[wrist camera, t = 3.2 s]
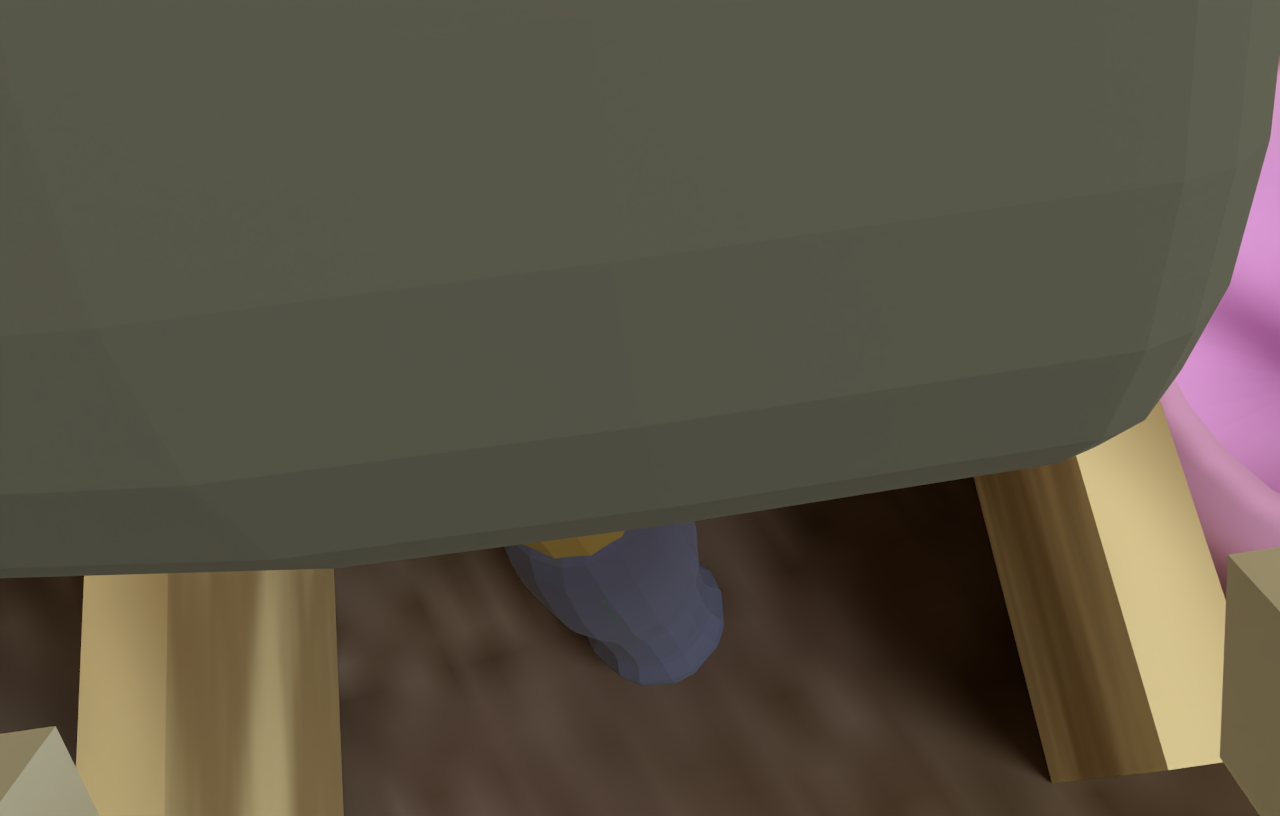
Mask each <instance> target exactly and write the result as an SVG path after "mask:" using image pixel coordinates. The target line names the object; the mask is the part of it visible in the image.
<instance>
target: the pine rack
mask: <svg viewBox="0 0 1280 816" xmlns="http://www.w3.org/2000/svg"><path fill="white" fill-rule="evenodd" d="M973 478H974V482H975V486H976V490H977V493H978V497H979V501H980V505H981V509H982V513H983V517H984V521H985V525H986V528H987V532H988V536H989V540H990V544H991V548H992V552H993V556H994V560H995V563H996V567H997V571H998V575H999V579H1000V583H1001V587H1002V591H1003V595H1004V598H1005V602H1006V606H1007V610H1008V614H1009V618H1010V622H1011V626H1012V630H1013V634H1014V637H1015V641H1016V645H1017V649H1018V653H1019V657H1020V661H1021V665H1022V669H1023V672H1024V676H1025V680H1026V684H1027V688H1028V692H1029V696H1030V700H1031V704H1032V707H1033V711H1034V715H1035V719H1036V723H1037V727H1038V731H1039V735H1040V739H1041V743H1042V746H1043V750H1044V754H1045V758H1046V762H1047V766H1048V770H1049V774H1050V778H1051V781H1052V783H1059V782H1068V781H1077V780H1086V779H1095V778H1103V777H1112V776H1121V775H1130V774H1139V773H1148V772H1157V771H1165V770H1173V769H1180V768H1187V767H1193V766H1200V765H1207V764H1214V763H1221V762H1223V761H1222V759H1221V758H1220V738H1221V713H1222V688H1223V663H1224V638H1225V613H1226V600H1225V597H1224V594H1223V590H1222V587H1221V584H1220V581H1219V578H1218V575H1217V572H1216V569H1215V566H1214V563H1213V560H1212V557H1211V554H1210V551H1209V548H1208V545H1207V542H1206V539H1205V536H1204V533H1203V530H1202V527H1201V524H1200V520H1199V517H1198V514H1197V511H1196V508H1195V505H1194V502H1193V499H1192V496H1191V493H1190V490H1189V487H1188V484H1187V481H1186V478H1185V475H1184V472H1183V469H1182V466H1181V463H1180V460H1179V457H1178V454H1177V450H1176V447H1175V444H1174V441H1173V438H1172V435H1171V432H1170V429H1169V426H1168V423H1167V420H1166V417H1165V414H1164V411H1163V408H1162V405H1161V402H1160V400H1159V402H1158V403H1157V404H1156V406H1155V407H1154V408H1153V410H1152V411H1151V413H1150V414H1149V415H1148V417H1147V418H1146V419H1145V420H1144V421H1142V422H1141V423H1139V424H1137V425H1135V426H1133V427H1131V428H1129V429H1128V430H1126V431H1124V432H1122V433H1120V434H1118V435H1117V436H1115V437H1113V438H1111V439H1109V440H1107V441H1106V442H1104V443H1102V444H1100V445H1098V446H1096V447H1094V448H1092V449H1090V450H1087V451H1085V452H1083V453H1081V454H1078V455H1076V456H1074V457H1072V458H1070V459H1067V460H1065V461H1063V462H1061V463H1058V464H1051V465H1045V466H1039V467H1032V468H1026V469H1020V470H1014V471H1007V472H1001V473H995V474H988V475H982V476H976V477H973ZM76 769H77V771H78V773H79V775H80V777H81V779H82V781H83V783H84V785H85V787H86V789H87V791H88V793H89V795H90V798H91V800H92V802H93V804H94V806H95V808H96V810H97V812H98V814H99V816H344V810H343V785H342V760H341V735H340V709H339V684H338V659H337V634H336V609H335V583H334V568H333V569H299V570H265V571H230V572H196V573H162V574H128V575H94V576H84V589H83V613H82V637H81V661H80V684H79V708H78V732H77V756H76Z"/></svg>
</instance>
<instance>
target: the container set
mask: <svg viewBox="0 0 1280 816" xmlns="http://www.w3.org/2000/svg"><path fill="white" fill-rule="evenodd" d="M1160 402H1161V405H1162V408H1163V411H1164V414H1165V417H1166V420H1167V423H1168V426H1169V429H1170V432H1171V435H1172V438H1173V441H1174V444H1175V447H1176V450H1177V454H1178V457H1179V460H1180V463H1181V466H1182V469H1183V472H1184V475H1185V478H1186V481H1187V484H1188V487H1189V490H1190V493H1191V496H1192V499H1193V502H1194V505H1195V508H1196V511H1197V514H1198V517H1199V520H1200V524H1201V527H1202V530H1203V533H1204V536H1205V539H1206V542H1207V545H1208V548H1209V551H1210V554H1211V557H1212V560H1213V563H1214V566H1215V569H1216V572H1217V575H1218V578H1219V581H1220V584H1221V587H1222V590H1223V594H1224V597H1225V600H1226V588H1227V563H1228V555H1229V554H1236V553H1243V552H1250V551H1256V550H1263V549H1270V548H1277V547H1280V55H1279V63H1278V72H1277V82H1276V91H1275V100H1274V109H1273V118H1272V128H1271V137H1270V141H1269V145H1268V148H1267V152H1266V155H1265V159H1264V163H1263V166H1262V170H1261V173H1260V177H1259V181H1258V184H1257V188H1256V192H1255V195H1254V199H1253V202H1252V206H1251V210H1250V213H1249V217H1248V221H1247V224H1246V228H1245V231H1244V235H1243V239H1242V242H1241V246H1240V249H1239V253H1238V257H1237V260H1236V264H1235V268H1234V271H1233V275H1232V278H1231V282H1230V285H1229V287H1228V289H1227V291H1226V292H1225V294H1224V296H1223V298H1222V299H1221V301H1220V303H1219V305H1218V306H1217V308H1216V310H1215V312H1214V313H1213V315H1212V317H1211V319H1210V321H1209V322H1208V324H1207V326H1206V328H1205V329H1204V331H1203V333H1202V335H1201V336H1200V338H1199V340H1198V342H1197V343H1196V345H1195V347H1194V349H1193V350H1192V352H1191V354H1190V356H1189V358H1188V359H1187V361H1186V363H1185V365H1184V366H1183V368H1182V370H1181V371H1180V373H1179V374H1178V375H1177V377H1176V378H1175V379H1174V381H1173V382H1172V384H1171V385H1170V386H1169V388H1168V389H1167V390H1166V392H1165V393H1164V395H1163V396H1162V397H1161V399H1160Z"/></svg>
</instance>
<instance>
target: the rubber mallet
mask: <svg viewBox="0 0 1280 816" xmlns="http://www.w3.org/2000/svg"><path fill="white" fill-rule="evenodd" d="M1279 54H1280V0H0V578H26V577H60V576H94V575H128V574H162V573H196V572H230V571H265V570H299V569H333V568H345V567H353V566H361V565H368V564H376V563H383V562H391V561H399V560H406V559H414V558H422V557H429V556H437V555H444V554H452V553H460V552H467V551H475V550H482V549H490V548H498V547H504V548H505V550H506V553H507V555H508V557H509V559H510V562H511V564H512V566H513V568H514V569H515V571H516V573H517V575H518V576H519V578H520V580H521V581H522V583H523V584H524V585H525V587H526V588H527V589H528V590H529V591H530V592H531V594H532V595H533V596H534V597H535V598H536V599H537V600H538V601H539V602H540V603H542V604H543V605H544V606H545V607H546V608H547V609H548V610H549V611H550V612H551V613H552V614H554V615H555V616H556V617H557V618H558V619H559V620H560V621H561V622H562V623H563V624H564V625H566V626H567V627H568V628H569V629H570V630H572V631H574V632H575V633H578V634H581V635H584V636H587V637H588V639H589V642H590V644H591V646H592V649H593V651H594V652H595V653H596V654H597V655H598V656H599V657H600V658H601V659H602V660H603V661H604V662H605V663H606V664H608V665H609V666H610V667H611V668H612V669H613V670H614V671H615V672H616V673H617V674H618V675H620V676H621V677H622V678H623V679H625V680H628V681H631V682H634V683H637V684H639V685H657V684H671V683H677V682H679V681H681V680H683V679H685V678H687V677H689V676H691V675H693V674H694V673H695V672H696V671H697V670H698V669H699V667H700V666H701V665H702V664H703V663H704V661H705V660H706V659H707V658H708V657H709V656H710V654H711V653H712V652H713V651H714V650H715V649H716V647H717V646H718V644H719V641H720V638H721V635H722V632H723V628H724V616H723V603H722V593H721V591H720V589H719V587H718V585H717V583H716V581H715V579H714V577H713V575H712V573H711V571H710V570H709V569H707V568H706V567H705V566H704V565H703V564H702V563H700V562H699V558H698V544H697V531H696V524H695V522H694V521H699V520H706V519H712V518H718V517H725V516H731V515H737V514H743V513H750V512H756V511H762V510H769V509H775V508H781V507H787V506H794V505H800V504H806V503H812V502H819V501H825V500H831V499H838V498H844V497H850V496H856V495H863V494H869V493H875V492H882V491H888V490H894V489H900V488H907V487H913V486H919V485H926V484H932V483H938V482H944V481H951V480H957V479H963V478H970V477H976V476H982V475H988V474H995V473H1001V472H1007V471H1014V470H1020V469H1026V468H1032V467H1039V466H1045V465H1051V464H1058V463H1061V462H1063V461H1065V460H1067V459H1070V458H1072V457H1074V456H1076V455H1078V454H1081V453H1083V452H1085V451H1087V450H1090V449H1092V448H1094V447H1096V446H1098V445H1100V444H1102V443H1104V442H1106V441H1107V440H1109V439H1111V438H1113V437H1115V436H1117V435H1118V434H1120V433H1122V432H1124V431H1126V430H1128V429H1129V428H1131V427H1133V426H1135V425H1137V424H1139V423H1141V422H1142V421H1144V420H1145V419H1146V418H1147V417H1148V415H1149V414H1150V413H1151V411H1152V410H1153V408H1154V407H1155V406H1156V404H1157V403H1158V402H1159V400H1160V399H1161V397H1162V396H1163V395H1164V393H1165V392H1166V390H1167V389H1168V388H1169V386H1170V385H1171V384H1172V382H1173V381H1174V379H1175V378H1176V377H1177V375H1178V374H1179V373H1180V371H1181V370H1182V368H1183V366H1184V365H1185V363H1186V361H1187V359H1188V358H1189V356H1190V354H1191V352H1192V350H1193V349H1194V347H1195V345H1196V343H1197V342H1198V340H1199V338H1200V336H1201V335H1202V333H1203V331H1204V329H1205V328H1206V326H1207V324H1208V322H1209V321H1210V319H1211V317H1212V315H1213V313H1214V312H1215V310H1216V308H1217V306H1218V305H1219V303H1220V301H1221V299H1222V298H1223V296H1224V294H1225V292H1226V291H1227V289H1228V287H1229V285H1230V282H1231V278H1232V275H1233V271H1234V268H1235V264H1236V260H1237V257H1238V253H1239V249H1240V246H1241V242H1242V239H1243V235H1244V231H1245V228H1246V224H1247V221H1248V217H1249V213H1250V210H1251V206H1252V202H1253V199H1254V195H1255V192H1256V188H1257V184H1258V181H1259V177H1260V173H1261V170H1262V166H1263V163H1264V159H1265V155H1266V152H1267V148H1268V145H1269V141H1270V137H1271V128H1272V118H1273V109H1274V100H1275V91H1276V82H1277V72H1278V63H1279Z"/></svg>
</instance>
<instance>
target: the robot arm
mask: <svg viewBox="0 0 1280 816" xmlns="http://www.w3.org/2000/svg"><path fill="white" fill-rule="evenodd" d="M1220 758H1221V759H1222V761H1223V762H1224V764H1225V765H1226V767H1227V768H1228V770H1229V771H1230V773H1231V774H1232V776H1233V777H1234V778H1235V780H1236V781H1237V783H1238V784H1239V786H1240V787H1241V789H1242V790H1243V792H1244V793H1245V795H1246V796H1247V797H1248V799H1249V800H1250V802H1251V803H1252V805H1253V806H1254V808H1255V809H1256V811H1257V812H1258V813H1259V815H1260V816H1280V547H1277V548H1270V549H1263V550H1256V551H1250V552H1243V553H1236V554H1229V555H1228V563H1227V588H1226V613H1225V638H1224V663H1223V688H1222V713H1221V738H1220ZM0 816H99V814H98V812H97V810H96V808H95V806H94V804H93V802H92V800H91V798H90V795H89V793H88V791H87V789H86V787H85V785H84V783H83V781H82V779H81V777H80V775H79V773H78V771H77V769H76V767H75V765H74V763H73V761H72V759H71V757H70V755H69V752H68V750H67V748H66V746H65V744H64V742H63V740H62V738H61V736H60V734H59V732H58V730H57V728H56V726H52V727H45V728H38V729H31V730H25V731H18V732H11V733H4V734H0Z"/></svg>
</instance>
